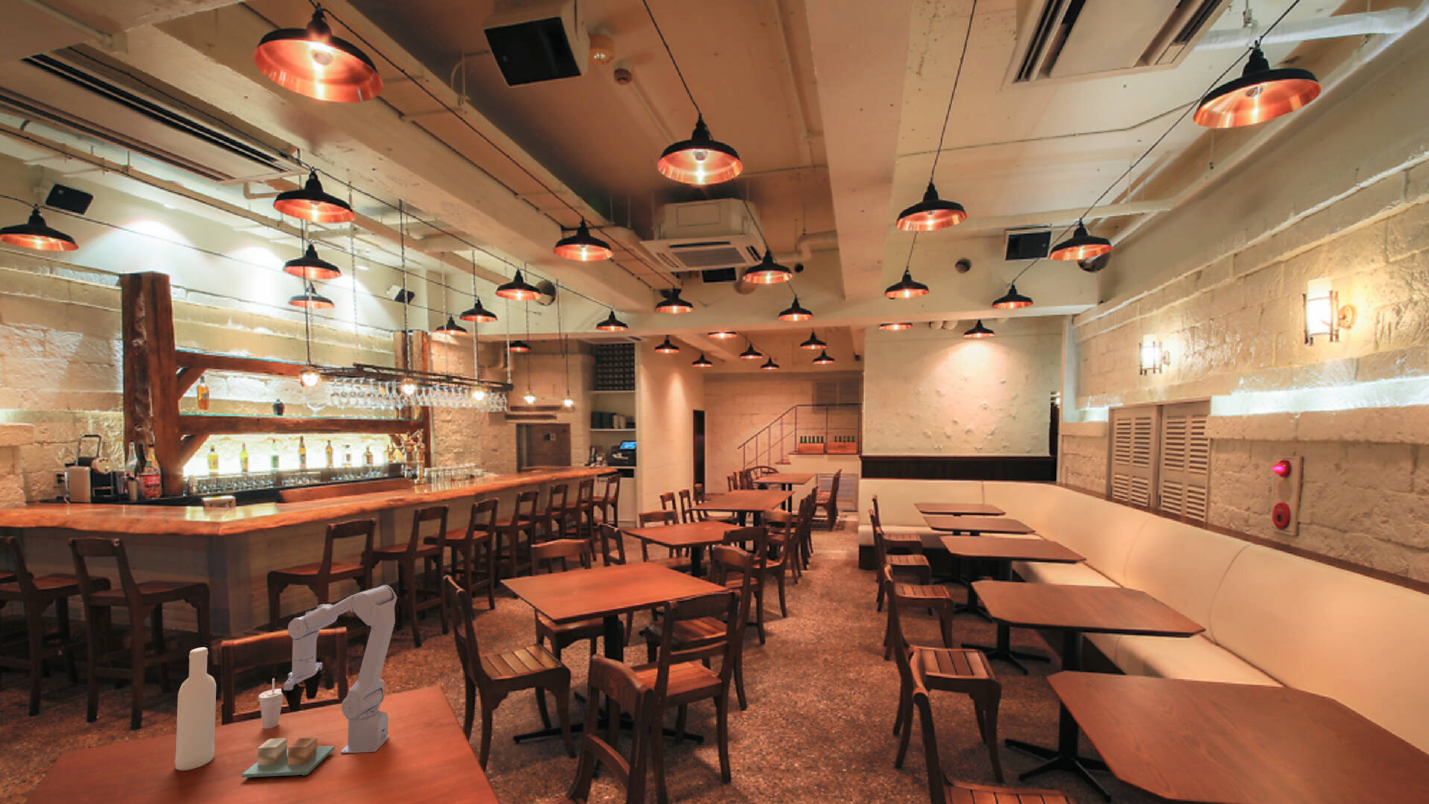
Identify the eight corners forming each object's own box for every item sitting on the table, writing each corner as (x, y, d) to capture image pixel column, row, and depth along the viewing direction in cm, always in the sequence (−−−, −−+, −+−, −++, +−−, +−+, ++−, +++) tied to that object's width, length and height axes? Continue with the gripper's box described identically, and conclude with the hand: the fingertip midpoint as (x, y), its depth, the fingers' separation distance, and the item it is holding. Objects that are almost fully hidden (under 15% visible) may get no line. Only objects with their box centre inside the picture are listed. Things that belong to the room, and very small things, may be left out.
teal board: (334, 752, 162) (334, 745, 162) (307, 778, 150) (307, 771, 150) (273, 755, 161) (274, 748, 161) (241, 781, 149) (242, 774, 149)
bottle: (213, 764, 156) (216, 650, 158) (173, 774, 152) (177, 657, 153) (215, 751, 163) (218, 641, 164) (177, 761, 158) (181, 648, 159)
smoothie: (269, 732, 173) (270, 684, 173) (251, 730, 174) (253, 682, 175) (289, 721, 179) (290, 675, 180) (271, 719, 180) (273, 673, 181)
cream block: (286, 755, 157) (287, 738, 157) (275, 764, 153) (275, 747, 153) (269, 755, 157) (269, 738, 157) (257, 765, 152) (258, 747, 153)
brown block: (316, 754, 157) (316, 737, 158) (305, 764, 153) (306, 746, 153) (299, 755, 157) (299, 738, 157) (287, 765, 153) (288, 747, 153)
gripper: (305, 648, 178) (304, 693, 177) (273, 667, 163) (271, 717, 163) (329, 647, 178) (328, 692, 178) (299, 666, 164) (298, 716, 163)
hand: (303, 704), depth 170 cm, fingers open, 7 cm apart
